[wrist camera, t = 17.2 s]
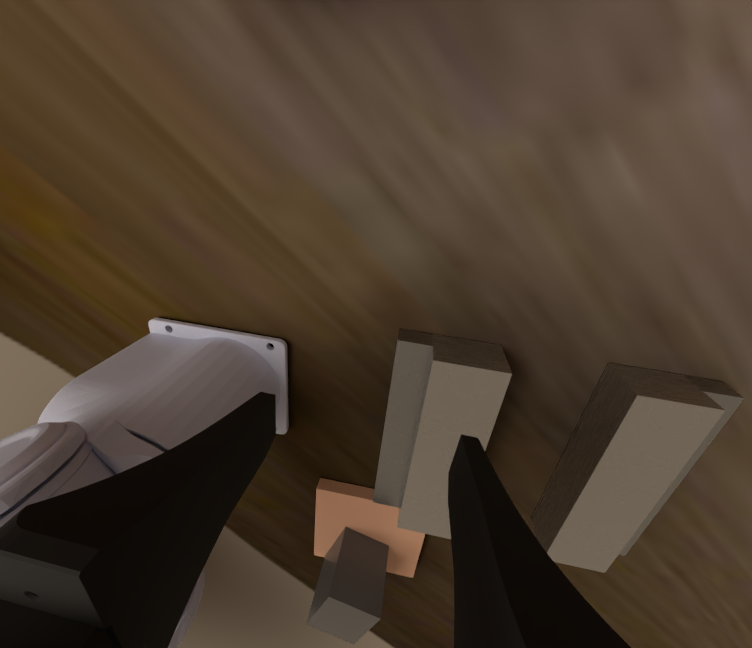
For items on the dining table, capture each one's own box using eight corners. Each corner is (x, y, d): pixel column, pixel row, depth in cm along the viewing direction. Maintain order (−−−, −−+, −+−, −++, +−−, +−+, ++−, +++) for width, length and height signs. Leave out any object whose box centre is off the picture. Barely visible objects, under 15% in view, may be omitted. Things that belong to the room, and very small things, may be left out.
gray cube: (324, 556, 30) (305, 624, 25) (345, 526, 27) (328, 596, 23) (364, 573, 30) (353, 644, 26) (389, 545, 28) (380, 618, 23)
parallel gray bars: (375, 484, 26) (369, 521, 24) (399, 328, 20) (394, 353, 17) (614, 534, 25) (636, 579, 22) (721, 381, 18) (771, 418, 16)
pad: (317, 543, 31) (313, 555, 30) (320, 477, 27) (316, 488, 26) (413, 565, 30) (412, 577, 29) (431, 501, 26) (431, 512, 25)
